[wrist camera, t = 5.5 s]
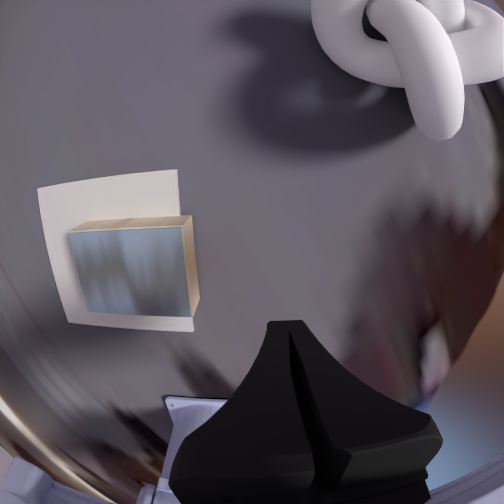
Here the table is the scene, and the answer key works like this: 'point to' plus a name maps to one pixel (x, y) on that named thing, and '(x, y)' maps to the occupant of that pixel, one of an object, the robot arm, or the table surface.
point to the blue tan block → (137, 266)
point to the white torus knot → (416, 51)
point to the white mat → (104, 208)
